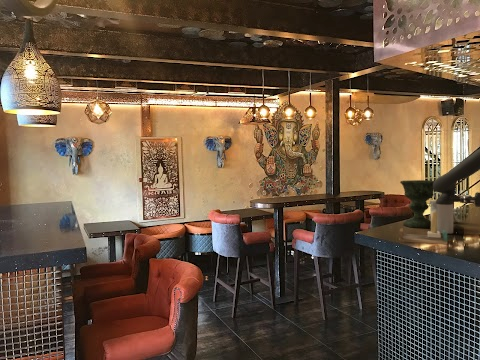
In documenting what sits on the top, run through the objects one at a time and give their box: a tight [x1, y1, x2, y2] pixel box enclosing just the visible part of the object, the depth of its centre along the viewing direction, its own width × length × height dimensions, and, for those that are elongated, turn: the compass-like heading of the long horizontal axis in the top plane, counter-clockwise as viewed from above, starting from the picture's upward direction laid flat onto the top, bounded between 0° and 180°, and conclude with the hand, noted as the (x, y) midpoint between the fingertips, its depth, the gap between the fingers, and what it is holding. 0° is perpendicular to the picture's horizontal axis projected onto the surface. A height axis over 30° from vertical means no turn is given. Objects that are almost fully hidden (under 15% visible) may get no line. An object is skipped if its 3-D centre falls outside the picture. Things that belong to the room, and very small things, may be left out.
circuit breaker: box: [428, 199, 455, 221], centre depth 277 cm, size 8×14×15 cm, turn 89°
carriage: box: [427, 212, 442, 238], centre depth 213 cm, size 7×6×13 cm
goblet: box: [399, 179, 435, 229], centre depth 262 cm, size 22×23×30 cm
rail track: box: [399, 228, 448, 245], centre depth 216 cm, size 10×23×6 cm, turn 66°
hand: (450, 198), depth 210 cm, fingers open, 8 cm apart
